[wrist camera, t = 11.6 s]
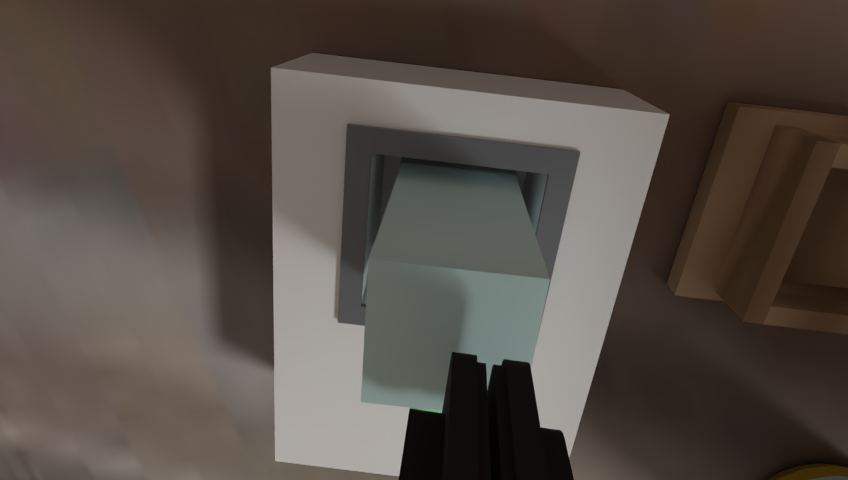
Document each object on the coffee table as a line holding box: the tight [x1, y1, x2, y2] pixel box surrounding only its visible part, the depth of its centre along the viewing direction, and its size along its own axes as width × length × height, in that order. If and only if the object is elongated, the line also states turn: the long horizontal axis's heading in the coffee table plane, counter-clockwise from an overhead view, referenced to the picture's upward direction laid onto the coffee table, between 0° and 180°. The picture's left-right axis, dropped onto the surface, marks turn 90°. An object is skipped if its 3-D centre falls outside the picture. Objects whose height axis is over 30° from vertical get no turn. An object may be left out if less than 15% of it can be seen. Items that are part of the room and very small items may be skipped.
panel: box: [271, 53, 670, 476], centre depth 22 cm, size 12×16×5 cm
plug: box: [361, 157, 550, 411], centre depth 17 cm, size 4×4×10 cm
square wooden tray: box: [667, 102, 848, 335], centre depth 21 cm, size 10×8×4 cm
